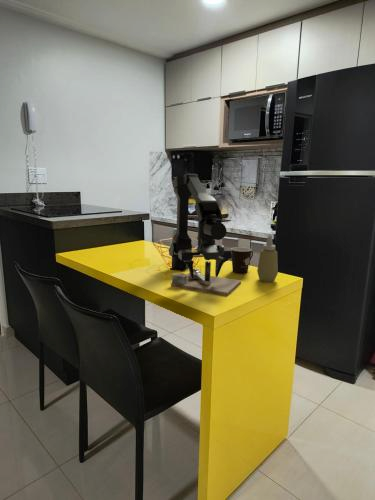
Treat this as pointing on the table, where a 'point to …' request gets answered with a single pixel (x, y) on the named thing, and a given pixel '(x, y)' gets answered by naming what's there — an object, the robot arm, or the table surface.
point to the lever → (202, 278)
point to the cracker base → (216, 287)
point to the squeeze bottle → (268, 262)
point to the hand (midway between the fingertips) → (204, 277)
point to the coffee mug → (241, 259)
